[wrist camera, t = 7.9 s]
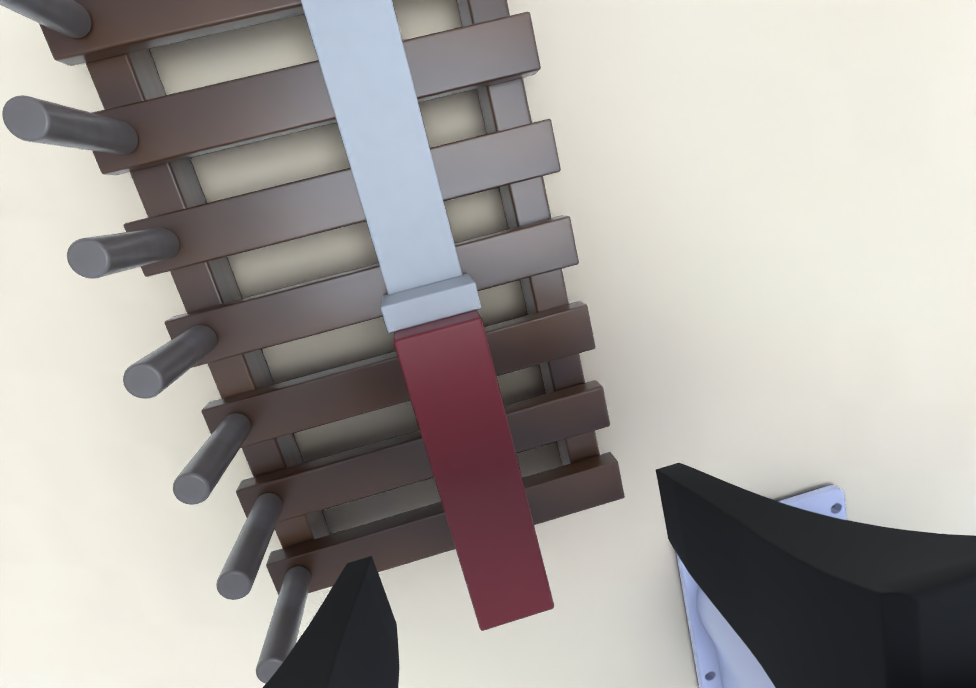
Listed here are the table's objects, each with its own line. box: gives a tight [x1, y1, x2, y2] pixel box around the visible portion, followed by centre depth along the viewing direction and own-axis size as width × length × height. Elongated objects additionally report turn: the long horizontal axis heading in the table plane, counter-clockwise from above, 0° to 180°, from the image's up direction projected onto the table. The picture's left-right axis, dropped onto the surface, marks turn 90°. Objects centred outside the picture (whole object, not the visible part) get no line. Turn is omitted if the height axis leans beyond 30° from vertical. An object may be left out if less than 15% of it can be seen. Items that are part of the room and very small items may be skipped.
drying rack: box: [0, 0, 625, 683], centre depth 17 cm, size 20×13×7 cm, turn 14°
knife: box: [301, 0, 554, 631], centre depth 16 cm, size 23×3×3 cm, turn 14°
